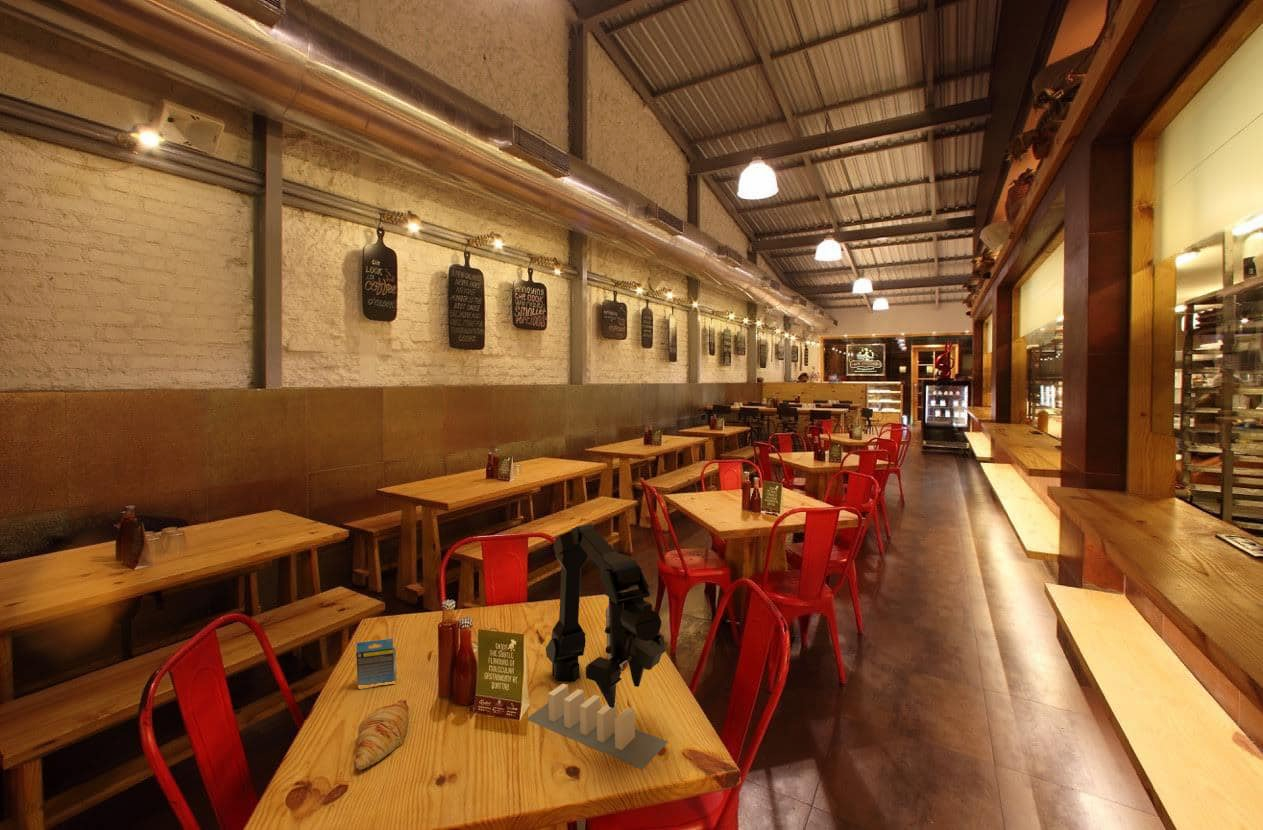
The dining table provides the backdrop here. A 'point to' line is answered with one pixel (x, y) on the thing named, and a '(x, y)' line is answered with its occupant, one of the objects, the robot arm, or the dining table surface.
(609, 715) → the domino
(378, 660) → the label tape box
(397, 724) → the croissant
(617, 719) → the domino
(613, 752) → the metal plate
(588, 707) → the domino
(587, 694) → the dining table surface
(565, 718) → the domino
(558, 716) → the domino
